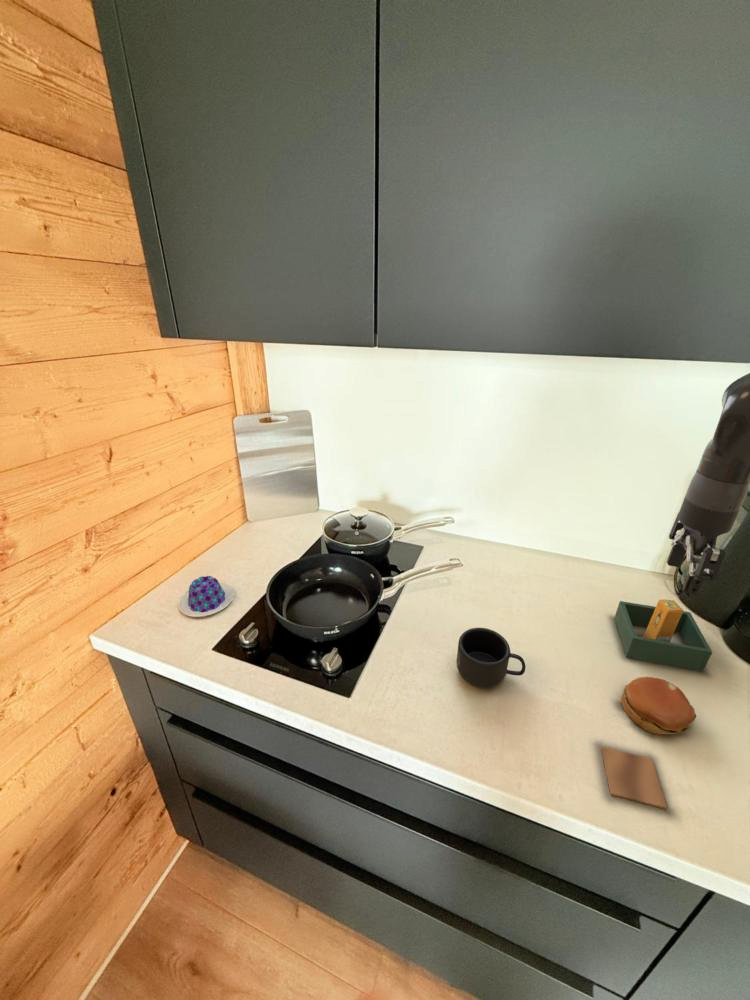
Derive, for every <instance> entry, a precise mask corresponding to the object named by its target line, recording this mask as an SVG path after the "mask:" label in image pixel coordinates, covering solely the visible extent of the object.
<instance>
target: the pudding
mask: <svg viewBox="0 0 750 1000" xmlns="http://www.w3.org/2000/svg"><path fill="white" fill-rule="evenodd" d="M234 597H235V591H234V588H233V587H232V586H230V585H229V584H227V583H226V582H225V583H224V582H220V581H219V580H218V579H217V578H216V577H213V576H211V575H206V576H204V575H202V576H199V577H198V578H195V579H193V581H192V582H191V583H190V585H189V586H188V591H186V592H184V594H183V595H182V596H181V597H180V599H179V601H178V609H179V611H180V612H181V613H182V614H184V616H185V615H186V616H189V617H194V618H195V617H196V618H199V617H201V618H202V617H207V616H210V615H213V614H216V613H218V612H221V611H222V610H224V609H225V608H226V607H227V606H229V605H230V603H231V602H232V601H233V599H234Z"/></svg>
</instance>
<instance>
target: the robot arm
mask: <svg viewBox="0 0 750 1000" xmlns="http://www.w3.org/2000/svg"><path fill="white" fill-rule="evenodd" d="M721 406H722V407H721V408H722V410H721V413H720V417H719V420H718V422H717V425H716V428H715V430H714V433H713V436H712V439H710V440H709V442H707V444H706V446H705V448H704V450H703V452H702V455H701V458H700V460H699V462H698V463H699V464H698V466H697V469H696V471H695V473H694V475H693V476H692V478H691V480H690V482H689V484H688V487H687V489H686V492H685V495H684V497H683V501H682V503H681V505H680V509H679V511H678V513H677V514H676V517H675V520H674V522H673V524H672V527H671V529H670V532H669V535H668V539H669V540H671V542H670V546H671V549H670V552H669V555H668V557H667V559H666V563H667V566H670V567H675V568H679V567H681V566H682V564H683V561H684V559H685V556H686V562H687V563H688V564H689V567H688V568H689V570H688V571H689V572H688V574H687V576H686V579H685V581H684V582H683V583H684V584H683V586H682V589H681V590H682V591H683V593H684V594H686V595H694V596H695V595H698V594H699V593H700V590H701V588H702V586H703V583H704V582H711V583H714V582H715V581H716V578H717V575H718V573H719V572H720V568H721V566H722V563H723V561H724V558H725V556H726V550H725V549H723V548H717V547H716V545H717V539H718V537H719V536H722V535H725V534H728V533H729V532H731V530H732V528H733V526H734V524H735V522H736V519H737V517H738V516H739V513H740V511H741V508H742V506H743V504H744V501H745V500H746V497H747V495H748V491H749V488H750V487H749V486H750V372H749V373H747V374H744V375H742V376H741V377H739V378H737V379H736V380H734V381H733V382H731V384H729V385H728V386H727V387H726V389H725V390H724V392H723V393H722V396H721ZM678 531H679V532H678ZM677 532H678V533H677ZM695 556H696V557H700V558H696V557H695Z"/></svg>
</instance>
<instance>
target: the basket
mask: <svg viewBox="0 0 750 1000" xmlns="http://www.w3.org/2000/svg"><path fill="white" fill-rule="evenodd" d="M655 608H656V606H653V605H647V604H641V603H635V602H629V601H624V600H623V601H622V600H620V601H619V603H618V606H617V608H616V612H615V614H614V617H613V620H614V624H615V627H616V630H617V633H618V636H619V639H620V643H621V646H622V649H623V652H624V655H625V658H627V659H628V658H629V659H634V660H639V661H642V662H643V661H645V662H649V663H654V664H660V665H666V666H671V667H675V668H676V667H677V668H681V669H687V670H690V671H696V672H700V673H703V672H705V669H706V667H707V665H708V663H709V661H710V659H711V656H712V654H713V650H712V649H711V647H710V644H709V643H708V642H707V639H706V638H705V636H704V634H703V633H702V631H701V629H700V627H699V625H698V623H697V621H696V620H695V618H694V616H693V614H692V612H690V611H683V613H682V615H681V617H680V619H679V622H678V624H677V626H676V629H675V631H674V633H679V634H680V636H681V638H682V640H683V643H684V644H683V643H677V642H671V641H670V642H666V641H661V640H655V639H650V638H644V637H643V636H638V635H637V634H636V631H635V629H634V626H638V627H644V628H645V627H646V628H647V627H648V625H649V622H650V620H651V618H652V615H653V613H654V611H655ZM633 625H634V626H633Z"/></svg>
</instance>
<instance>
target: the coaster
mask: <svg viewBox="0 0 750 1000" xmlns="http://www.w3.org/2000/svg"><path fill="white" fill-rule="evenodd" d="M600 750H601V754H602V759H603V765H604V768H605V774H606V780H607V785H608V790H609V794H610V796H614V797H618V798H622V799H626V800H629V801H633V802H637V803H640V804H644V805H647V806H652V807H656V808H660V809H663V810H667V809H668V806H667V804H666V799H665V797H664V793H663V791H662V786H661V783H660V780H659V776H658V773H657V769H656V767H655V763H654V760H653V758H650V757H647V756H641V755H636V754H634V753H633V754H632V753H629V752H625V751H620V750H616V749H613V748H608V747H604V746H601V748H600Z"/></svg>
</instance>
